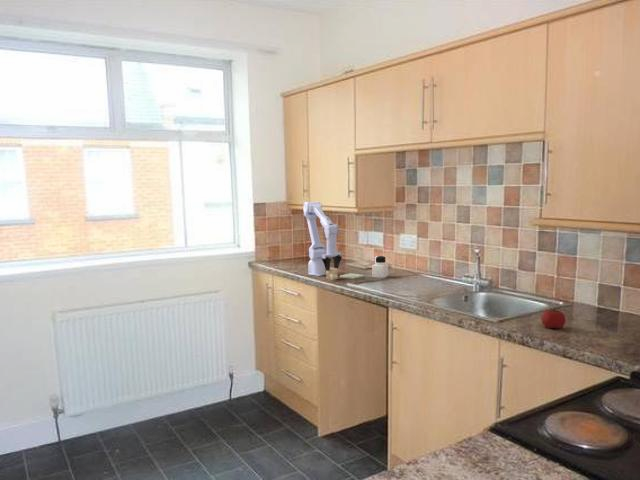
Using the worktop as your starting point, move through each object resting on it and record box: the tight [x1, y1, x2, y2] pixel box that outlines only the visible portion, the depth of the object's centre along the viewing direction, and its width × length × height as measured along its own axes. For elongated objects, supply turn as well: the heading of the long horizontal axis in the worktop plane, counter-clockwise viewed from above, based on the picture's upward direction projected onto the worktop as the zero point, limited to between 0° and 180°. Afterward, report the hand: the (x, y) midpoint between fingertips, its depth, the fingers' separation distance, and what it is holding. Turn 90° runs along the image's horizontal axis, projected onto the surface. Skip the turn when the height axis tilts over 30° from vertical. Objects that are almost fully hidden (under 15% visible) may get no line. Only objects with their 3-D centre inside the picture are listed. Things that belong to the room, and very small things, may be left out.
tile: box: [339, 273, 365, 280], centre depth 292 cm, size 10×10×1 cm
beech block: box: [325, 267, 339, 281], centre depth 286 cm, size 4×4×6 cm
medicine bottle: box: [371, 255, 389, 279], centre depth 290 cm, size 7×7×12 cm
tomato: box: [540, 308, 566, 330], centre depth 185 cm, size 8×8×7 cm
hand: (332, 269), depth 286 cm, fingers open, 7 cm apart
